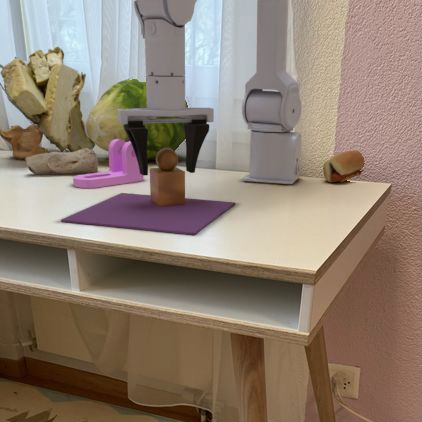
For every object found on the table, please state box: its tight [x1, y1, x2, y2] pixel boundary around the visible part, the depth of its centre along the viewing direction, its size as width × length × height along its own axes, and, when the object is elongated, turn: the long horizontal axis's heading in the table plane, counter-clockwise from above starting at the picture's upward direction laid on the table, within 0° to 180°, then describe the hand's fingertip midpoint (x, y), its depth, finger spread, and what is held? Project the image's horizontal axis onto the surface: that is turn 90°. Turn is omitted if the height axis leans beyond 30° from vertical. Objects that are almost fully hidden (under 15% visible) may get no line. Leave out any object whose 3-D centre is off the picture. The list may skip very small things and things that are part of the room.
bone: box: [0, 123, 49, 161], centre depth 134 cm, size 12×10×8 cm
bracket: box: [72, 139, 145, 189], centre depth 110 cm, size 13×6×7 cm, turn 134°
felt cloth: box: [60, 192, 236, 236], centre depth 91 cm, size 20×20×1 cm
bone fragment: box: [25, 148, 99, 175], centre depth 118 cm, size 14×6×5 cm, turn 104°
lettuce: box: [85, 78, 189, 162], centre depth 131 cm, size 17×23×17 cm
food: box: [322, 149, 365, 183], centre depth 118 cm, size 14×6×5 cm
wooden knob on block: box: [149, 148, 186, 206], centre depth 94 cm, size 4×4×8 cm
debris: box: [0, 46, 96, 153], centre depth 129 cm, size 26×30×14 cm
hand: (167, 173), depth 94 cm, fingers open, 7 cm apart
